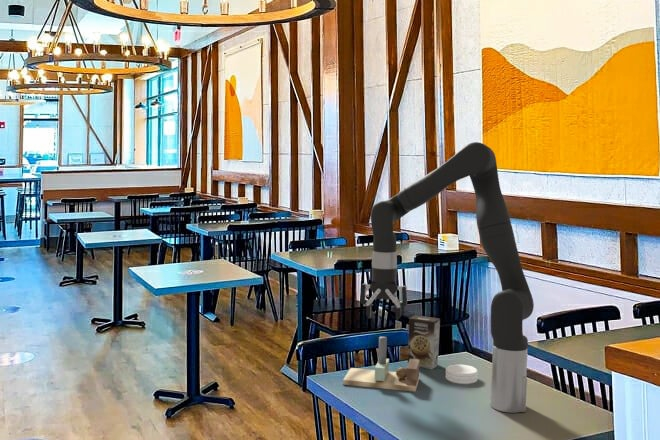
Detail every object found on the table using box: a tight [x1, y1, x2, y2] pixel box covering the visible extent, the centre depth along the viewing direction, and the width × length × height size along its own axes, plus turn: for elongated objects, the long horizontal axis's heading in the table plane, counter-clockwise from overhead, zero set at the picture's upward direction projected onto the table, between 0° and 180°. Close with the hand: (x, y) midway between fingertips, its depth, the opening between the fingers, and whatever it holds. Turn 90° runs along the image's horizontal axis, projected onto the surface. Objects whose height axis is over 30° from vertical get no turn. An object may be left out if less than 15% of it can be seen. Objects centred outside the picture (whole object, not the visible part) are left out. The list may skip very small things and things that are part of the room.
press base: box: [342, 359, 420, 393], centre depth 192 cm, size 22×12×6 cm, turn 77°
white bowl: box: [445, 363, 479, 385], centre depth 197 cm, size 10×10×4 cm
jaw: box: [374, 336, 390, 381], centre depth 192 cm, size 3×10×12 cm, turn 167°
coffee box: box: [407, 314, 441, 370], centre depth 210 cm, size 9×6×16 cm
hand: (383, 318), depth 191 cm, fingers open, 8 cm apart
